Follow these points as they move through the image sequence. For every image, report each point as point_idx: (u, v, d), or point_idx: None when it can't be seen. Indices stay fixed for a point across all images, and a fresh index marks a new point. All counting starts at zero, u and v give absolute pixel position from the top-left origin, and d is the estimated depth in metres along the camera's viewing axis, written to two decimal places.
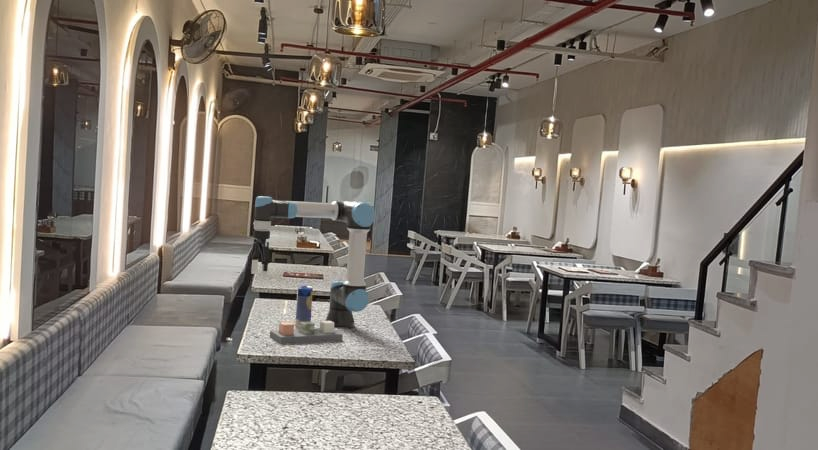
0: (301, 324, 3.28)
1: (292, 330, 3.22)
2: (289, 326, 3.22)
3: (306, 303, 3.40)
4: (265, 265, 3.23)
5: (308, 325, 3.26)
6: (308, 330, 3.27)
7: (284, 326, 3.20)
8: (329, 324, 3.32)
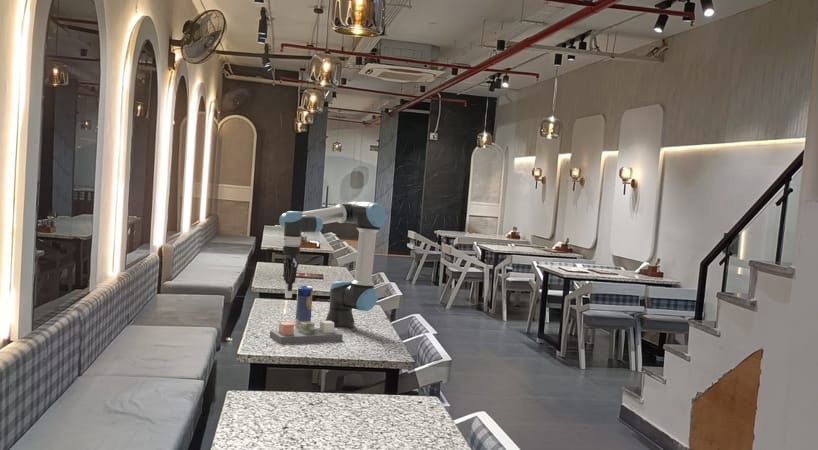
0: (301, 324, 3.28)
1: (292, 330, 3.22)
2: (289, 326, 3.22)
3: (306, 303, 3.40)
4: (290, 285, 3.21)
5: (308, 325, 3.26)
6: (308, 330, 3.27)
7: (284, 326, 3.20)
8: (329, 324, 3.32)
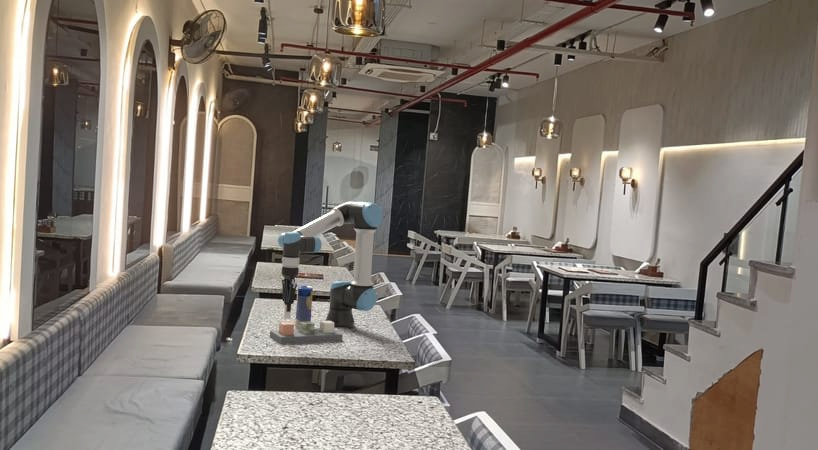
0: (301, 324, 3.28)
1: (292, 330, 3.22)
2: (289, 326, 3.22)
3: (306, 303, 3.40)
4: (288, 306, 3.21)
5: (308, 325, 3.26)
6: (308, 330, 3.27)
7: (284, 326, 3.20)
8: (329, 324, 3.32)
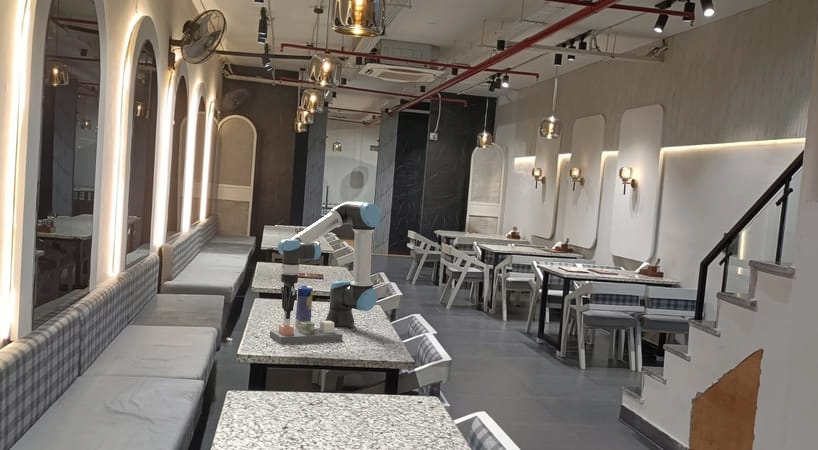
0: (301, 324, 3.28)
1: (292, 332, 3.23)
2: (289, 328, 3.22)
3: (306, 303, 3.40)
4: (288, 313, 3.21)
5: (308, 325, 3.26)
6: (308, 330, 3.27)
7: (284, 328, 3.20)
8: (329, 324, 3.32)
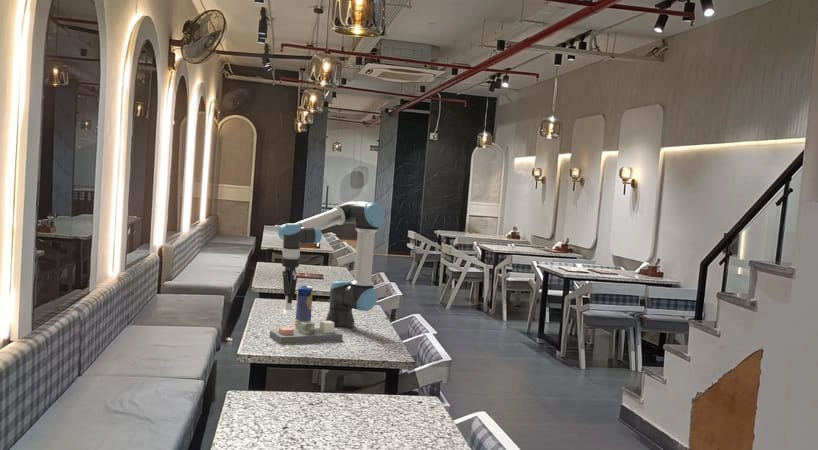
0: (301, 324, 3.28)
1: None
2: (289, 331, 3.22)
3: (306, 303, 3.40)
4: (289, 297, 3.21)
5: (308, 325, 3.26)
6: (308, 330, 3.27)
7: (284, 331, 3.20)
8: (329, 324, 3.32)
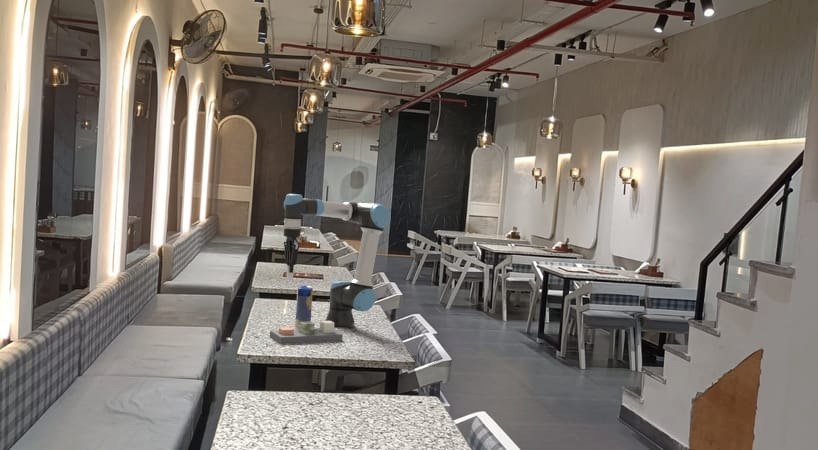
0: (301, 324, 3.28)
1: None
2: (289, 331, 3.22)
3: (306, 303, 3.40)
4: (291, 267, 3.26)
5: (308, 325, 3.26)
6: (308, 330, 3.27)
7: (284, 331, 3.20)
8: (329, 324, 3.32)
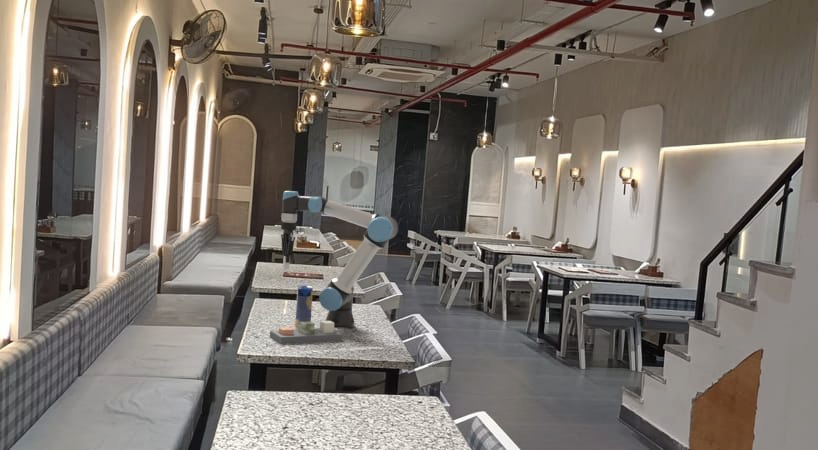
0: (301, 324, 3.28)
1: None
2: (289, 331, 3.22)
3: (306, 303, 3.40)
4: (287, 257, 3.57)
5: (308, 325, 3.26)
6: (308, 330, 3.27)
7: (284, 331, 3.20)
8: (329, 324, 3.32)
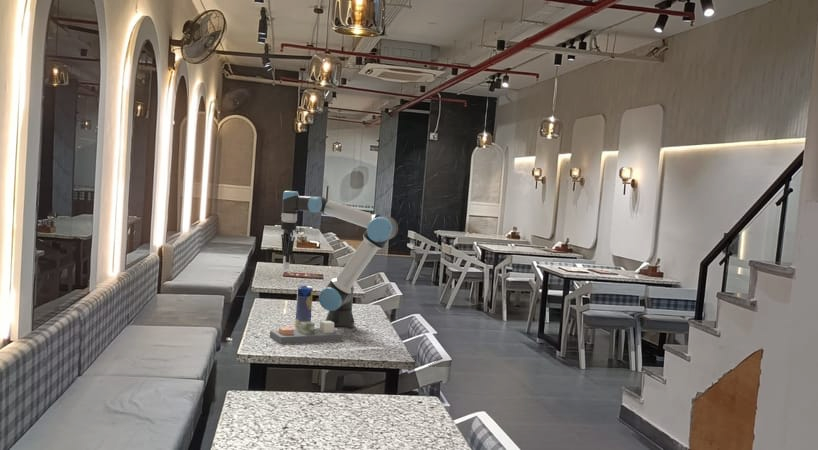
0: (301, 324, 3.28)
1: None
2: (289, 331, 3.22)
3: (306, 303, 3.40)
4: (287, 257, 3.57)
5: (308, 325, 3.26)
6: (308, 330, 3.27)
7: (284, 331, 3.20)
8: (329, 324, 3.32)
